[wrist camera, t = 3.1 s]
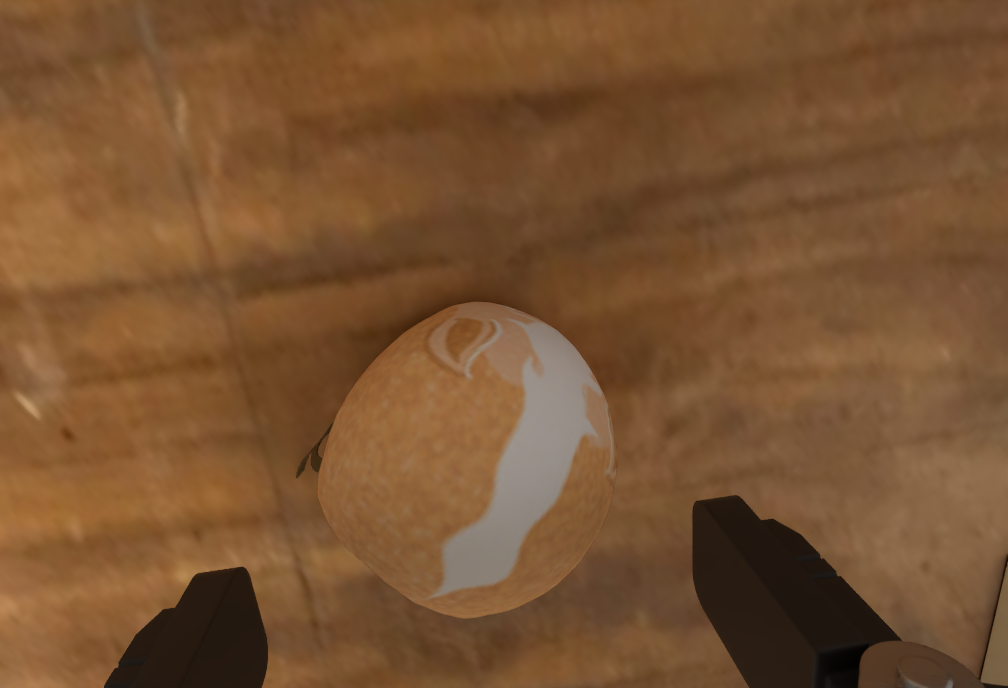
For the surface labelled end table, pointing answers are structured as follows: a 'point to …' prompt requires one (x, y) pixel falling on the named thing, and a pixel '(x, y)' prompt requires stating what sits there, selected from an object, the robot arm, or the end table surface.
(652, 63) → the end table surface
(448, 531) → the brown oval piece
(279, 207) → the end table surface
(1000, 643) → the button block
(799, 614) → the robot arm
